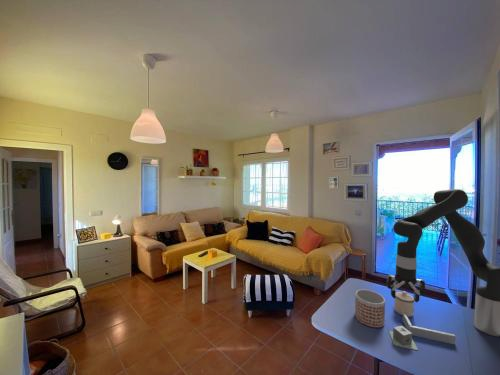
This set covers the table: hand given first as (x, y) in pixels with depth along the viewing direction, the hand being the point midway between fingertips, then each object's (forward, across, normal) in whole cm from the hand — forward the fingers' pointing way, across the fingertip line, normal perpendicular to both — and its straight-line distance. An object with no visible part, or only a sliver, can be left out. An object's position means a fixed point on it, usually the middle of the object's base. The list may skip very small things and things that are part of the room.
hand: (404, 299), depth 96 cm
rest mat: (+20, 0, 0) cm, 20 cm away
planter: (+20, +12, -11) cm, 26 cm away
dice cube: (+20, 0, +1) cm, 20 cm away
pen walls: (+20, -13, -11) cm, 26 cm away
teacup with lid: (+20, -7, -26) cm, 34 cm away
